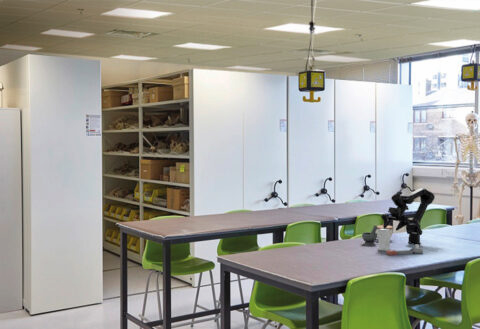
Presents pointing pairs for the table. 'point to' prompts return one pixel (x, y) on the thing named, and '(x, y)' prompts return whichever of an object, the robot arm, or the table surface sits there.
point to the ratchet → (406, 251)
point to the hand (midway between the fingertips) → (390, 229)
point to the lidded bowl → (383, 228)
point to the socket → (384, 239)
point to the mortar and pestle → (370, 236)
